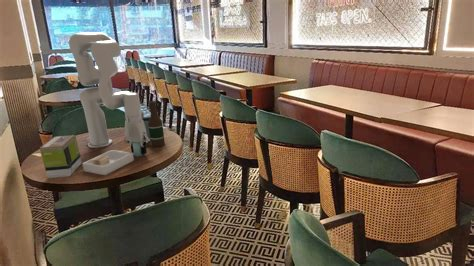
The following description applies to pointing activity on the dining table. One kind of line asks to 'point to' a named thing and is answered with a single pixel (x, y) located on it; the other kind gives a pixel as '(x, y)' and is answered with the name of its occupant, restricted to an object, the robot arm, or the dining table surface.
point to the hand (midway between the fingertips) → (139, 152)
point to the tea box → (61, 156)
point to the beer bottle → (155, 127)
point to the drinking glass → (146, 125)
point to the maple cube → (101, 160)
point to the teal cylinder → (137, 149)
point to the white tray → (115, 159)
